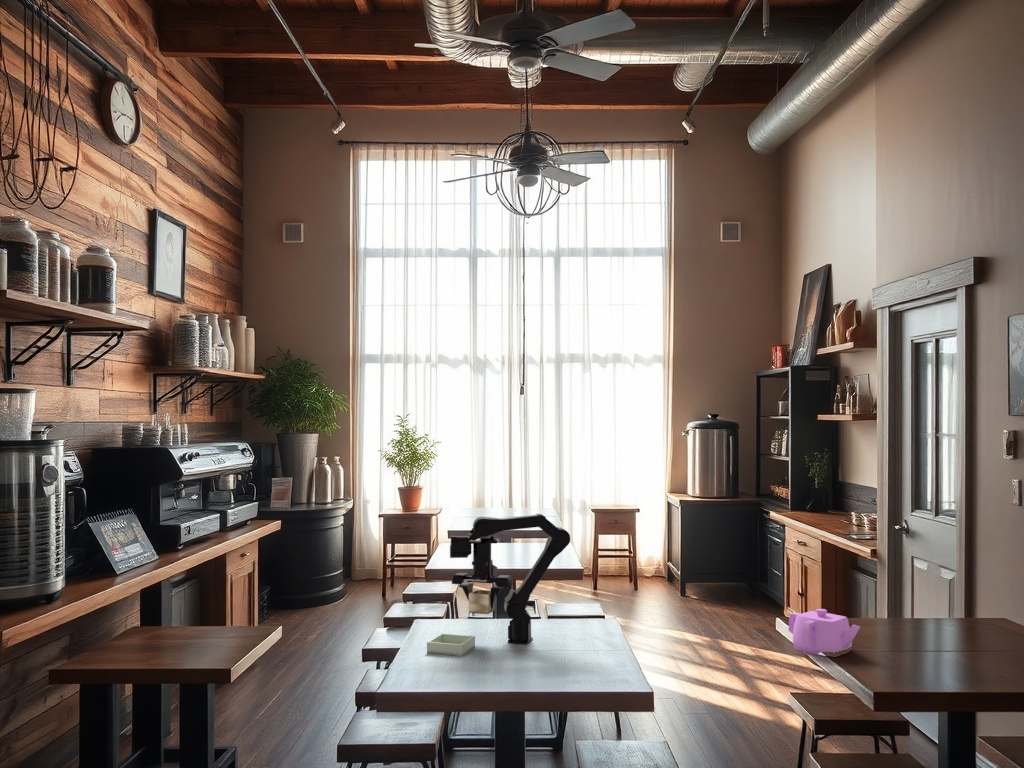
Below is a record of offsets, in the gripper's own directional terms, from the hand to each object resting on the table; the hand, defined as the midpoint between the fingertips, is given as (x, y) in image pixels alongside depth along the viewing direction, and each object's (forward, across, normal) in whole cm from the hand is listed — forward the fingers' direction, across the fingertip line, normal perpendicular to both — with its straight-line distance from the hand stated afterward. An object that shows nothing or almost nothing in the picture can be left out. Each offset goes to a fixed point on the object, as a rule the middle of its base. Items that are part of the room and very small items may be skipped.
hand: (482, 607), depth 258 cm
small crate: (+1, 0, 0) cm, 1 cm away
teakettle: (+11, -102, -22) cm, 105 cm away
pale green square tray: (+11, +6, +11) cm, 17 cm away
